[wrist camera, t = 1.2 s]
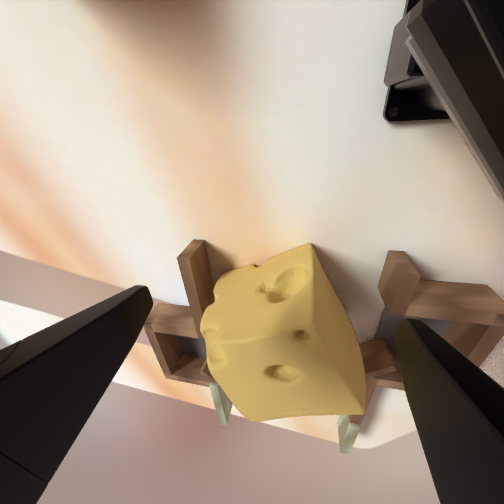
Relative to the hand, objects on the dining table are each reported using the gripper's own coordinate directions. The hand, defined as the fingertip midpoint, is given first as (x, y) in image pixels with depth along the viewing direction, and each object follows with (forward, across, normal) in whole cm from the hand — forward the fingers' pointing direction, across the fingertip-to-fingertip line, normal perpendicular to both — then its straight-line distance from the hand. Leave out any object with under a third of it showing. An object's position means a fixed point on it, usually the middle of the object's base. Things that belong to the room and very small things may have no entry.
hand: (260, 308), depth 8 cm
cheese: (+13, 0, +11) cm, 17 cm away
